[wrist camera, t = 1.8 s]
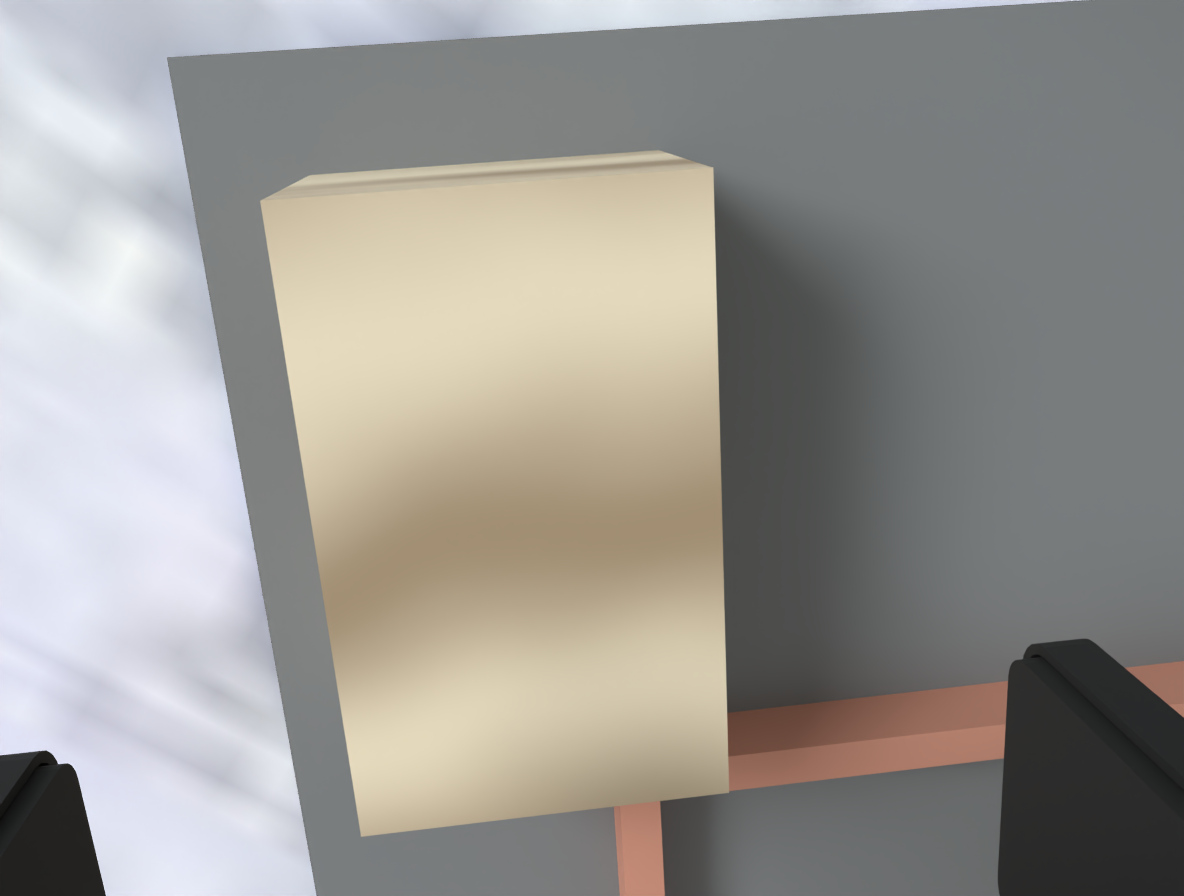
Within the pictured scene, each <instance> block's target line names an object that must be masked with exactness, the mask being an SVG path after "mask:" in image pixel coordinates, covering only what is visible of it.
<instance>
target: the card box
mask: <svg viewBox="0 0 1184 896" xmlns="http://www.w3.org/2000/svg"><path fill="white" fill-rule="evenodd" d="M260 203H261V209H262V215H263V222H264V228H265V234H266V241H267V247H268V253H269V259H270V266H271V272H272V278H273V285H274V291H275V297H276V304H277V310H278V316H279V322H280V329H281V335H282V341H283V348H284V354H285V360H286V367H287V373H288V379H289V385H290V392H291V398H292V404H293V411H294V417H295V423H296V430H297V436H298V442H299V448H300V455H301V461H302V467H303V474H304V480H305V486H306V493H307V499H308V505H309V511H310V518H311V524H312V530H313V537H314V543H315V549H316V556H317V562H318V568H319V574H320V581H321V587H322V593H323V600H324V606H325V612H326V619H327V625H328V631H329V637H330V644H331V650H332V656H333V663H334V669H335V675H336V681H337V688H338V694H339V700H340V707H341V713H342V719H343V726H344V732H345V738H346V744H347V751H348V757H349V763H350V770H351V776H352V782H353V789H354V795H355V801H356V807H357V814H358V820H359V826H360V833H361V837H363V836H372V835H380V834H388V833H397V832H405V831H413V830H422V829H430V828H439V827H447V826H455V825H464V824H472V823H480V822H489V821H497V820H505V819H514V818H522V817H530V816H539V815H547V814H556V813H564V812H572V811H581V810H589V809H597V808H606V807H614V806H622V805H631V804H639V803H647V802H656V801H664V800H673V799H681V798H689V797H698V796H706V795H714V794H723V793H729V768H728V728H727V689H726V649H725V610H724V570H723V531H722V491H721V452H720V412H719V373H718V333H717V294H716V254H715V215H714V175H713V167H710V166H706V165H703V164H700V163H697V162H694V161H691V160H688V159H685V158H682V157H678V156H675V155H672V154H669V153H666V152H663V151H660V150H655V151H641V152H627V153H613V154H599V155H585V156H571V157H557V158H543V159H529V160H515V161H501V162H487V163H473V164H459V165H445V166H431V167H417V168H403V169H389V170H375V171H361V172H346V173H332V174H318V175H309V176H307V177H305V178H303V179H301V180H299V181H298V182H296V183H294V184H292V185H290V186H288V187H286V188H284V189H282V190H280V191H278V192H276V193H274V194H272V195H270V196H268V197H266V198H265V199H263V200H261V201H260Z"/></svg>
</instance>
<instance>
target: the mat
mask: <svg viewBox="0 0 1184 896" xmlns="http://www.w3.org/2000/svg"><path fill="white" fill-rule="evenodd" d="M167 60H168V66H169V72H170V77H171V83H172V88H173V94H174V100H175V105H176V111H177V116H178V122H179V127H180V133H181V139H182V144H183V150H184V155H185V161H186V167H187V172H188V178H189V183H190V189H191V195H192V200H193V206H194V211H195V217H196V223H197V228H198V234H199V239H200V245H201V251H202V256H203V262H204V267H205V273H206V279H207V284H208V290H209V295H210V301H211V307H212V312H213V318H214V323H215V329H216V335H217V340H218V346H219V351H220V357H221V363H222V368H223V374H224V379H225V385H226V391H227V396H228V402H229V407H230V413H231V419H232V424H233V430H234V435H235V441H236V447H237V452H238V458H239V463H240V469H241V475H242V480H243V486H244V491H245V497H246V503H247V508H248V514H249V519H250V525H251V531H252V536H253V542H254V547H255V553H256V559H257V564H258V570H259V575H260V581H261V587H262V592H263V598H264V603H265V609H266V615H267V620H268V626H269V631H270V637H271V643H272V648H273V654H274V659H275V665H276V671H277V676H278V682H279V687H280V693H281V699H282V704H283V710H284V715H285V721H286V727H287V732H288V738H289V743H290V749H291V754H292V760H293V766H294V771H295V777H296V782H297V788H298V794H299V799H300V805H301V810H302V816H303V822H304V827H305V833H306V838H307V844H308V850H309V855H310V861H311V866H312V872H313V878H314V883H315V889H316V894H317V896H1000V895H999V889H998V859H999V840H1000V821H1001V803H1002V784H1003V765H1004V746H1005V727H1006V709H1007V690H1008V674H1009V668H1010V666H1011V664H1012V662H1014V661H1015V660H1020V659H1023V655H1024V653H1025V651H1026V649H1027V647H1029V646H1030V645H1031V644H1036V643H1046V642H1055V641H1064V640H1073V639H1089V640H1091V641H1093V642H1095V643H1096V644H1097V645H1098V646H1099V647H1101V648H1102V649H1103V650H1104V651H1105V652H1106V653H1108V654H1109V655H1110V656H1111V657H1112V658H1114V659H1115V660H1116V661H1117V662H1118V663H1120V664H1121V665H1122V666H1123V667H1124V668H1125V669H1127V670H1128V671H1129V672H1130V673H1131V674H1133V675H1134V676H1135V677H1136V678H1137V679H1139V680H1140V681H1141V682H1142V683H1143V684H1144V685H1146V686H1147V687H1148V688H1149V689H1150V690H1152V691H1153V692H1154V693H1155V694H1156V695H1158V696H1159V697H1160V698H1161V699H1162V700H1163V701H1165V702H1166V703H1167V704H1168V705H1169V706H1171V707H1172V708H1173V709H1174V710H1175V711H1177V712H1178V713H1179V714H1180V715H1181V716H1182V717H1184V0H1084V1H1068V2H1052V3H1036V4H1020V5H1004V6H988V7H972V8H956V9H940V10H924V11H907V12H891V13H875V14H859V15H843V16H827V17H811V18H795V19H779V20H763V21H747V22H731V23H715V24H698V25H682V26H666V27H650V28H634V29H618V30H602V31H586V32H570V33H554V34H538V35H522V36H506V37H489V38H473V39H457V40H441V41H425V42H409V43H393V44H377V45H361V46H345V47H329V48H313V49H297V50H280V51H264V52H248V53H232V54H216V55H200V56H184V57H168V58H167ZM655 150H660V151H663V152H666V153H669V154H672V155H675V156H678V157H682V158H685V159H688V160H691V161H694V162H697V163H700V164H703V165H706V166H710V167H713V175H714V215H715V254H716V294H717V333H718V373H719V412H720V452H721V491H722V531H723V570H724V610H725V649H726V689H727V728H728V768H729V793H723V794H714V795H706V796H698V797H689V798H681V799H673V800H664V801H656V802H647V803H639V804H631V805H622V806H614V807H606V808H597V809H589V810H581V811H572V812H564V813H556V814H547V815H539V816H530V817H522V818H514V819H505V820H497V821H489V822H480V823H472V824H464V825H455V826H447V827H439V828H430V829H422V830H413V831H405V832H397V833H388V834H380V835H372V836H363V837H361V833H360V826H359V820H358V814H357V807H356V801H355V795H354V789H353V782H352V776H351V770H350V763H349V757H348V751H347V744H346V738H345V732H344V726H343V719H342V713H341V707H340V700H339V694H338V688H337V681H336V675H335V669H334V663H333V656H332V650H331V644H330V637H329V631H328V625H327V619H326V612H325V606H324V600H323V593H322V587H321V581H320V574H319V568H318V562H317V556H316V549H315V543H314V537H313V530H312V524H311V518H310V511H309V505H308V499H307V493H306V486H305V480H304V474H303V467H302V461H301V455H300V448H299V442H298V436H297V430H296V423H295V417H294V411H293V404H292V398H291V392H290V385H289V379H288V373H287V367H286V360H285V354H284V348H283V341H282V335H281V329H280V322H279V316H278V310H277V304H276V297H275V291H274V285H273V278H272V272H271V266H270V259H269V253H268V247H267V241H266V234H265V228H264V222H263V215H262V209H261V203H260V201H261V200H263V199H265V198H266V197H268V196H270V195H272V194H274V193H276V192H278V191H280V190H282V189H284V188H286V187H288V186H290V185H292V184H294V183H296V182H298V181H299V180H301V179H303V178H305V177H307V176H309V175H318V174H332V173H346V172H361V171H375V170H389V169H403V168H417V167H431V166H445V165H459V164H473V163H487V162H501V161H515V160H529V159H543V158H557V157H571V156H585V155H599V154H613V153H627V152H641V151H655Z"/></svg>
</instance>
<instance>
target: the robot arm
mask: <svg viewBox="0 0 1184 896" xmlns="http://www.w3.org/2000/svg"><path fill="white" fill-rule="evenodd" d="M998 889H999V895H1000V896H1184V717H1182V716H1181V715H1180V714H1179V713H1178V712H1177V711H1175V710H1174V709H1173V708H1172V707H1171V706H1169V705H1168V704H1167V703H1166V702H1165V701H1163V700H1162V699H1161V698H1160V697H1159V696H1158V695H1156V694H1155V693H1154V692H1153V691H1152V690H1150V689H1149V688H1148V687H1147V686H1146V685H1144V684H1143V683H1142V682H1141V681H1140V680H1139V679H1137V678H1136V677H1135V676H1134V675H1133V674H1131V673H1130V672H1129V671H1128V670H1127V669H1125V668H1124V667H1123V666H1122V665H1121V664H1120V663H1118V662H1117V661H1116V660H1115V659H1114V658H1112V657H1111V656H1110V655H1109V654H1108V653H1106V652H1105V651H1104V650H1103V649H1102V648H1101V647H1099V646H1098V645H1097V644H1096V643H1095V642H1093V641H1091V640H1089V639H1073V640H1064V641H1055V642H1046V643H1036V644H1031V645H1030V646H1029V647H1027V649H1026V651H1025V653H1024V655H1023V659H1020V660H1015V661H1014V662H1012V664H1011V666H1010V668H1009V674H1008V690H1007V709H1006V727H1005V746H1004V765H1003V784H1002V803H1001V821H1000V840H999V859H998ZM0 896H106V895H105V890H104V886H103V882H102V878H101V874H100V869H99V865H98V861H97V857H96V852H95V848H94V844H93V840H92V836H91V831H90V827H89V823H88V819H87V815H86V810H85V806H84V802H83V798H82V793H81V789H80V785H79V781H78V777H77V774H76V771H75V770H74V768H73V767H72V766H71V765H70V764H68V763H67V764H58V763H57V761H56V759H55V758H54V756H53V755H52V754H51V753H50V752H48V751H37V752H28V753H19V754H10V755H0Z"/></svg>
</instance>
